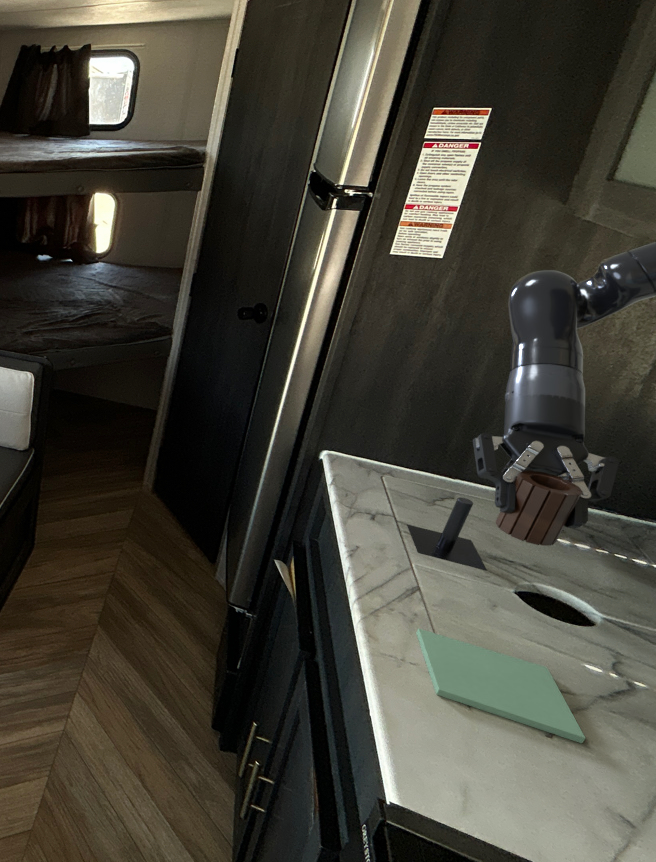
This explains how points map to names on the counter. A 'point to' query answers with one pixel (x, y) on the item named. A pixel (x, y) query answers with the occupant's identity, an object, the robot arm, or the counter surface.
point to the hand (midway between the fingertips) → (539, 518)
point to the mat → (498, 684)
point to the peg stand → (449, 539)
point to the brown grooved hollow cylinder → (539, 507)
